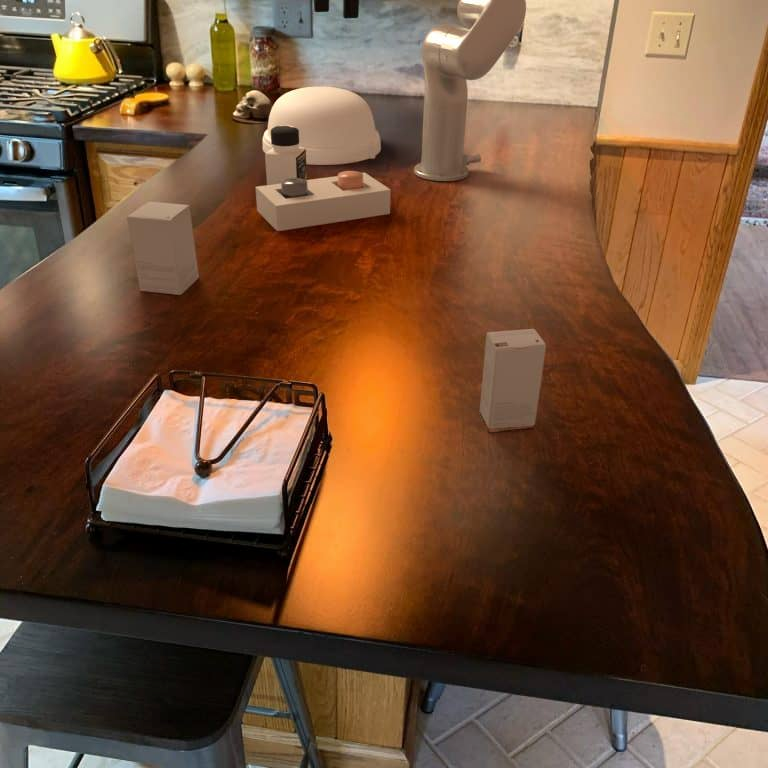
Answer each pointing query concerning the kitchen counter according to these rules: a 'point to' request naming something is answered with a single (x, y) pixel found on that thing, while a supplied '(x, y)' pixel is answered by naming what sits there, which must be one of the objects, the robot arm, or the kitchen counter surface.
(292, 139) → the medicine bottle
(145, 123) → the kitchen counter surface
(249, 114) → the skull
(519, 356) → the skincare box
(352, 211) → the button console
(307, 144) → the dome cover
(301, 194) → the charcoal button
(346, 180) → the light brown rounded piece
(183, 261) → the supplement box
